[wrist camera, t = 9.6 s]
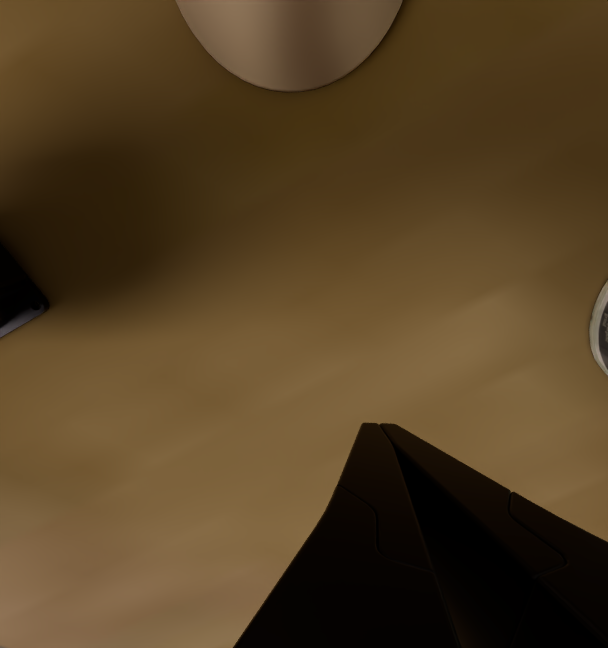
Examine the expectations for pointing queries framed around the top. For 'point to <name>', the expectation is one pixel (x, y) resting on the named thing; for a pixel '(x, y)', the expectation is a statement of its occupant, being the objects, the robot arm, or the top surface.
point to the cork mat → (289, 37)
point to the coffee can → (600, 329)
